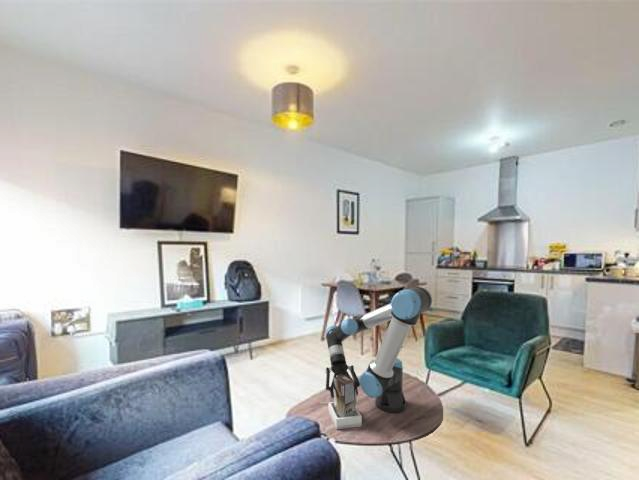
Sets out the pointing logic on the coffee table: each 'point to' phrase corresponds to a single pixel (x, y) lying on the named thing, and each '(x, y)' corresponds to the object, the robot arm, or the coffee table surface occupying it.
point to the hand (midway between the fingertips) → (346, 404)
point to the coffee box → (344, 396)
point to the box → (345, 418)
